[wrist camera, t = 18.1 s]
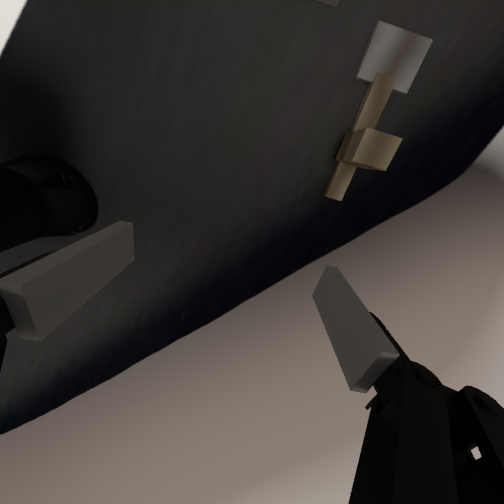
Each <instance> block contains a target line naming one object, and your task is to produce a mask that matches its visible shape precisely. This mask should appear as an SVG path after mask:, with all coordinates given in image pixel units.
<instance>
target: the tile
mask: <svg viewBox="0 0 504 504" xmlns="http://www.w3.org/2000/svg"><path fill="white" fill-rule="evenodd" d="M317 1H320V2H323V3H326V4H328V5H331V6H334V7H337V5H338V3H339V1H340V0H317Z"/></svg>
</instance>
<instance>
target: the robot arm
mask: <svg viewBox="0 0 504 504" xmlns="http://www.w3.org/2000/svg"><path fill="white" fill-rule="evenodd" d="M97 214H98V206H97V201H96V197H95V195H94V192H93V190H92V188H91V187H90V185H89V184H88V182H87V181H86V180H85V178H84V177H83V176H82V175H81V174H80V173H79V172H78V171H77V170H76V169H74V168H73V167H72V166H70V165H69V164H67V163H66V162H64V161H62V160H60V159H58V158H55V157H52V156H47V155H26V156H21V157H18V158H15V159H13V160H10V161H7V162H5V163H2V164H0V252H2V251H5V250H7V249H10V248H13V247H15V246H18V245H21V244H23V243H26V242H29V241H31V240H34V239H37V238H40V237H55V236H70V235H75V234H78V233H80V232H83V231H85V230H87V229H89V228H90V227H91V226H92V225H93V224H94V223H95V221H96V218H97ZM134 260H135V257H134V235H133V223H130V222H125V221H118V222H116V223H114V224H112V225H110V226H108V227H106V228H104V229H102V230H100V231H98V232H96V233H94V234H92V235H90V236H87V237H85V238H83V239H81V240H79V241H77V242H75V243H73V244H71V245H69V246H67V247H65V248H63V249H61V250H59V251H53V252H49V253H46V254H42V255H40V256H38V257H35V258H33V259H31V260H30V261H27V262H25V263H22V264H20V265H19V266H16V267H14V268H12V269H10V270H7V271H5V272H3V273H1V274H0V371H1V367H2V362H3V358H4V353H5V349H6V345H7V338H6V335H5V334H6V333H8V332H9V331H11V330H12V329H13V328H16V330H17V333H18V335H19V337H20V338H23V339H29V340H35V341H42V340H43V339H44V338H45V337H46V336H47V335H49V334H50V333H51V332H52V331H53V330H54V329H56V328H57V327H58V326H59V325H60V324H61V323H62V322H64V321H65V320H66V319H67V318H68V317H69V316H71V315H72V314H73V313H74V312H75V311H76V310H77V309H79V308H80V307H81V306H82V305H83V304H84V303H86V302H87V301H88V300H89V299H90V298H91V297H93V296H94V295H95V294H96V293H97V292H98V291H99V290H101V289H102V288H103V287H104V286H105V285H106V284H108V283H109V282H110V281H111V280H112V279H113V278H114V277H116V276H117V275H118V274H119V273H120V272H121V271H123V270H124V269H125V268H126V267H127V266H128V265H129V264H131V263H132V262H133V261H134ZM312 296H313V299H314V301H315V304H316V306H317V309H318V311H319V314H320V316H321V319H322V321H323V324H324V326H325V329H326V331H327V334H328V336H329V339H330V341H331V344H332V346H333V349H334V351H335V353H336V356H337V358H338V361H339V364H340V366H341V368H342V371H343V373H344V376H345V378H346V381H347V383H348V386H349V388H350V391H356V392H362V393H367V392H368V390H369V389H370V388H371V387H372V386H374V388H375V390H376V392H377V395H376V396H375V397H374V398H373V399H372V400H371V401H370V402H369V403H368V404H367V406H366V407H365V408H366V409H367V410H368V409H369V408H370V407H371V411H370V415H369V419H368V424H367V428H366V432H365V436H364V441H363V445H362V449H361V454H360V457H359V462H358V466H357V470H356V474H355V478H354V483H353V487H352V492H351V496H350V500H349V504H504V408H503V407H502V406H500V405H499V404H498V403H497V401H496V400H494V399H493V398H492V397H490V396H489V395H488V394H486V393H484V392H482V391H481V390H479V389H477V388H475V387H472V386H465V387H464V388H462V389H461V390H460V391H459V392H458V391H455V390H453V389H451V388H449V387H446V386H444V385H442V383H441V382H440V380H439V379H438V378H437V377H436V376H435V375H434V374H433V373H432V372H431V371H429V370H428V369H427V368H426V367H424V366H423V365H420V364H419V363H417V362H413V361H411V360H410V359H409V358H408V356H407V355H406V354H405V353H404V351H403V350H402V349H401V347H400V346H399V344H398V343H397V342H396V341H395V339H394V338H393V337H392V336H391V334H390V333H389V331H388V330H386V327H385V326H384V325H383V323H382V322H381V321H380V320H379V319H378V318H377V317H376V316H375V315H374V314H373V313H371V312H369V311H368V310H367V308H366V307H365V306H364V304H363V303H362V302H361V300H360V299H359V297H358V296H357V295H356V293H355V292H354V290H353V289H352V288H351V286H350V285H349V284H348V282H347V281H346V279H345V278H344V277H343V275H342V274H341V272H340V271H339V270H338V268H337V267H332V266H328V265H326V268H325V270H324V272H323V274H322V277H321V278H320V281H319V282H318V285H317V287H316V289H315V291H314V293H313V295H312ZM477 446H478V449H479V451H480V453H481V458H479V459H477V460H475V458H474V457H473V454H472V452H471V450H472V449H473V448H475V447H477Z"/></svg>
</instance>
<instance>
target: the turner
mask: <svg viewBox="0 0 504 504" xmlns="http://www.w3.org/2000/svg"><path fill="white" fill-rule="evenodd" d="M432 41H433V40H432V39H429V38H426V37H424V36H421V35H418V34H415V33H412V32H410V31H407V30H404V29H401V28H398V27H396V26H393V25H390V24H387V23H384V22H382V21H378V22H377V23H376V24H375V26H374V29H373V31H372V34H371V37H370V39H369V42H368V44H367V47H366V50H365V52H364V55H363V57H362V60H361V63H360V65H359V68H358V71H357V73H356V76H355V78H354V80H358V81H361V82H364V83H367V84H369V87H368V89H367V91H366V94H365V96H364V99H363V101H362V103H361V106H360V108H359V111H358V113H357V116H356V118H355V120H354V123H353V125H352V128H351V130H350V132H349V133H346V134H345V137H344V139H343V142H342V144H341V146H340V149H339V151H338V154H337V156H336V159H335V160H336V161H337V164H336V166H335V169H334V171H333V173H332V176H331V178H330V181H329V183H328V185H327V188H326V190H325V193H324V196H325V197H329V198H332V199H336V200H339V201H341V200H342V198H343V196H344V193H345V191H346V189H347V187H348V185H349V183H350V180H351V178H352V176H353V174H354V172H355V170H356V167H360V168H365V169H374V170H383V171H386V169H387V167H388V165H389V163H390V161H391V160H392V158H393V156H394V154H395V152H396V150H397V148H398V146H399V144H400V142H401V141H402V138H399V137H396V136H393V135H390V134H387V133H383V132H380V131H377V130H374V128H375V126H376V124H377V122H378V120H379V117H380V115H381V113H382V111H383V109H384V107H385V104H386V102H387V100H388V98H389V96H390V93H391V92H394V93H397V94H400V95H404V94H407V92H408V90H409V88H410V86H411V84H412V81H413V79H414V77H415V75H416V73H417V71H418V69H419V67H420V65H421V63H422V61H423V59H424V57H425V55H426V53H427V51H428V49H429V47H430V45H431V43H432Z"/></svg>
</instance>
